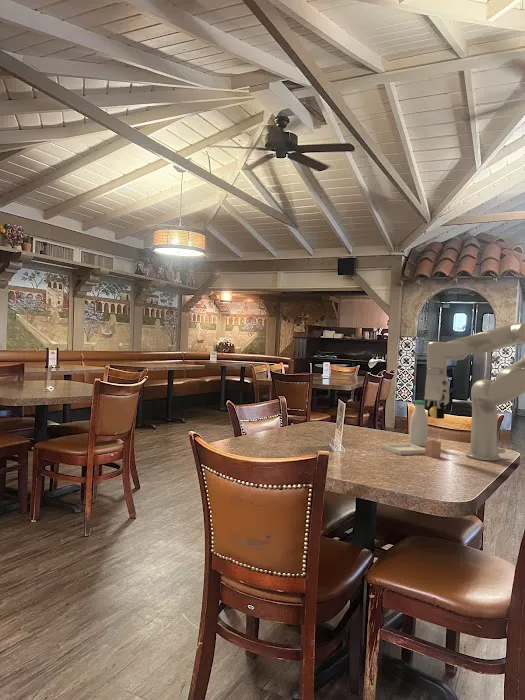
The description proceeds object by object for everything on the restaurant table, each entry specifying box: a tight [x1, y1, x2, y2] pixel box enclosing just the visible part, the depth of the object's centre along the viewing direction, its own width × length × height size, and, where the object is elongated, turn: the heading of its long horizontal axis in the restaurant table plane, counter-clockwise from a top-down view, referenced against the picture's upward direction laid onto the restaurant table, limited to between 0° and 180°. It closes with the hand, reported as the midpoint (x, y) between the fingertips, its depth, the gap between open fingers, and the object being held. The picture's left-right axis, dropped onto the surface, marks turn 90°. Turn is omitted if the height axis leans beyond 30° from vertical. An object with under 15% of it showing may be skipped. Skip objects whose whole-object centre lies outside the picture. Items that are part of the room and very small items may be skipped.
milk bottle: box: [408, 399, 429, 447], centre depth 230 cm, size 8×8×20 cm
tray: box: [380, 442, 425, 456], centre depth 214 cm, size 14×14×2 cm
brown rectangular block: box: [424, 439, 442, 458], centre depth 206 cm, size 4×4×6 cm
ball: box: [429, 405, 438, 419], centre depth 206 cm, size 5×5×5 cm
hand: (435, 417), depth 206 cm, fingers closed on ball, 4 cm apart
